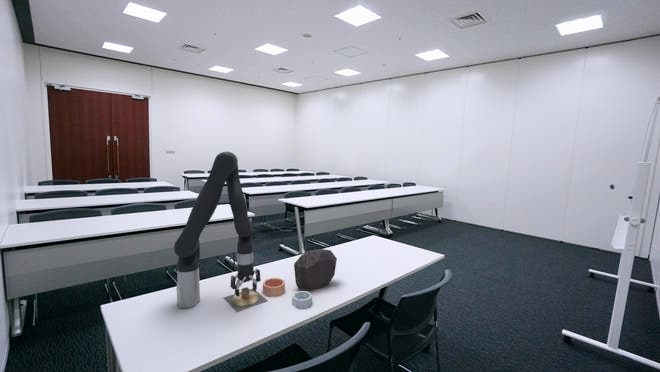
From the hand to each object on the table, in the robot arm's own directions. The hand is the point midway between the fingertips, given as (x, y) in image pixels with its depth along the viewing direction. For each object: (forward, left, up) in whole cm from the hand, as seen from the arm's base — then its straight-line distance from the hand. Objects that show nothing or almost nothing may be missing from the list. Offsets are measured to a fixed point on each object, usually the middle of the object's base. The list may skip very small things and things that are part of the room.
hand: (246, 293), depth 149 cm
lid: (0, 0, -3) cm, 3 cm away
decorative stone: (+36, -9, -4) cm, 37 cm away
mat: (0, 0, -4) cm, 4 cm away
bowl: (+15, -1, -4) cm, 15 cm away
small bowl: (+20, -19, -4) cm, 27 cm away
